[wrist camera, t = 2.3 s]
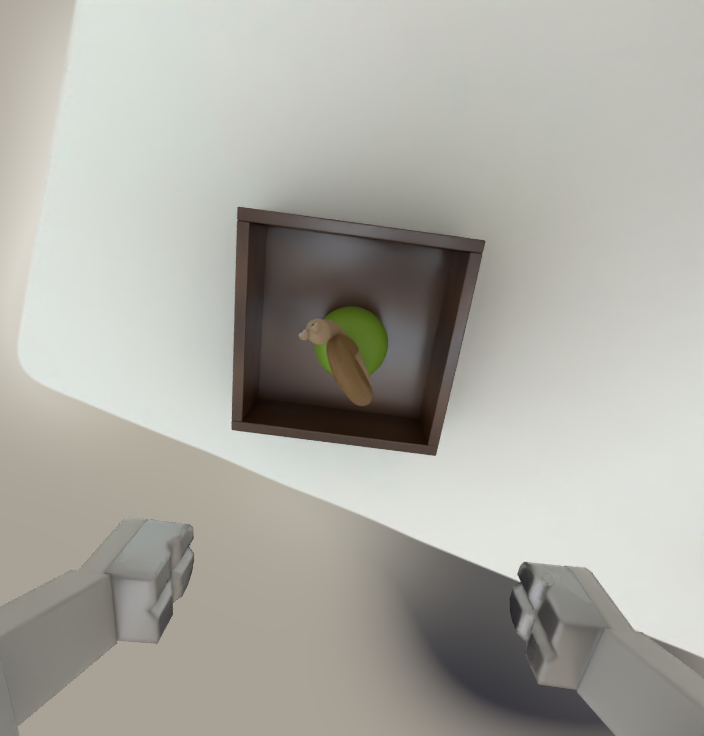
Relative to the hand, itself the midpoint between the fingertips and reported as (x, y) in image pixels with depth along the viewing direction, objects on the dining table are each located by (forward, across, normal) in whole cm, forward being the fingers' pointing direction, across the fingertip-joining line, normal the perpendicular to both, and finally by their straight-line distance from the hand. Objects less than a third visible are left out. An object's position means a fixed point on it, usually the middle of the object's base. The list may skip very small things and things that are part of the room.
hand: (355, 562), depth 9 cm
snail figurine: (+22, +1, -1) cm, 22 cm away
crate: (+22, +1, -1) cm, 23 cm away
